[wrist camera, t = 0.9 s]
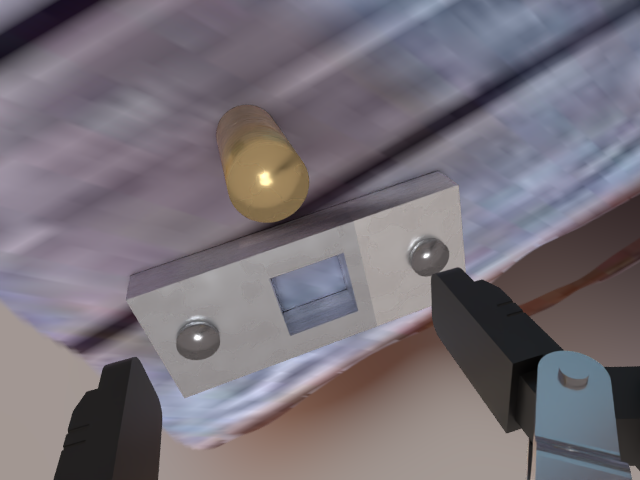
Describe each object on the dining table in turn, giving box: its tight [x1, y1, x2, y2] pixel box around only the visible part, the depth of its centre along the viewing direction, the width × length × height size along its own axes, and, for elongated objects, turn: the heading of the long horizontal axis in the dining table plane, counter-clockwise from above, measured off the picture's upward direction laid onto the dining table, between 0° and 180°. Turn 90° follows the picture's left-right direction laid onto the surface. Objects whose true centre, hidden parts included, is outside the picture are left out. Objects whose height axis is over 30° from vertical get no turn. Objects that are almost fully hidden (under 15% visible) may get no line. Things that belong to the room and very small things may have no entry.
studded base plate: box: [126, 171, 466, 398], centre depth 35 cm, size 24×10×4 cm, turn 103°
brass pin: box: [216, 105, 309, 223], centre depth 26 cm, size 4×4×9 cm
